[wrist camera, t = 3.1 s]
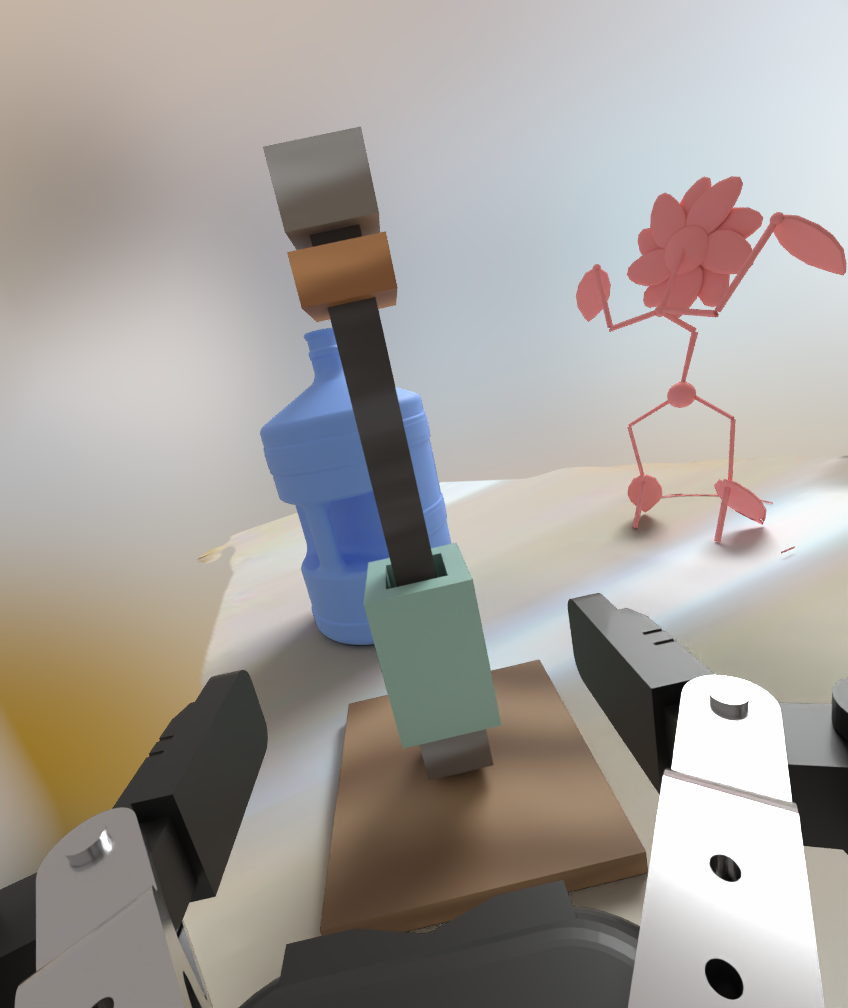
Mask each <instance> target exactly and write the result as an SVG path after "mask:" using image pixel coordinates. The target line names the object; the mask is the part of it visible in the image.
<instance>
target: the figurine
mask: <svg viewBox="0 0 848 1008" xmlns="http://www.w3.org/2000/svg"><path fill="white" fill-rule="evenodd" d="M742 185H743V183H742V180H741V178H740V177H729V178H727V179H724V180H722V181H719V182H718V183H716V184H715V185H714V186H712V187H711V181H710V178H708V177H703V178H701V179H699V180H698V181H697V182H696V183H695V184H694V185H693V186H692V187H691V188H690V189H689V190H688V191H687V192H686V194H685V195H684V197H683V199H682V201H681V203H680V204H679V203H678V201H677V200H676V199H675V198H674V197H672V196H671V195H669V194H667V193H663V194H661V195H659V196H658V198H657V199H656V201H655V203H654V206H653V210H652V213H651V224H650V225H651V226H650V228H647V229H643V230H642V231H641V232H640V234H639V236H638V244H639V249H640V252H641V254H642V255H643V256H641V257H640V258H639V259H637V260H636V261H635V262H634V263H632V265H631V266H630V267H629V268H628V273H627V275H628V277H629V279H630V280H631V281H633V282H634V283H636V284H639V285H644V286H649V287H648V288H647V290H646V291H645V292H644V299H643V301H644V304H645V306H647V307H649V308H651V307H656V306H658V307H656V309H655V310H654V311H652V312H649V313H646V314H643V315H641V316H638V317H635V318H632V319H629V320H626V321H624V322H621V323H618V324H616V325H613V324H612V320H611V316H610V312H609V308H608V303H607V300H608V298H609V296H610V286H611V285H610V281H609V278H608V274H607V273H606V272H605V271H603V270H602V269H601V267H600V265H598V264H596V265H594V267H593V269H592V270H590V271H589V272H587V273H585V275H584V277H583V279H582V280H581V282H580V283H579V285H578V290H577V294H576V298H577V305H578V308H579V310H580V311H581V313H582V315H583V316H584V318H585V319H586V320H587V321H588V322H589V321H590V320H592V319H593V318H594V317H595V316H596V315H597V314H598V313H599V312H600V311H601V310H602V309H603V310H604V314H605V318H606V322H607V326H608V327H609V328H610V329H609V331H610V332H611V331H613V330H616V329H619V328H622V327H625V326H628V325H630V324H633V323H636V322H639V321H642V320H644V319H647V318H650V317H652V316H655V315H656V316H658V317H661V316H664V317H666V318H668V319H669V320H671V321H673V322H674V323H676V324H678V325H680V326H681V327H683V328H685V329H686V330H688V331H690V332H692V333H691V338H690V342H689V347H688V351H687V356H686V361H685V366H684V371H683V376H682V380H681V382H679V383H677V384H675V385H673V386H672V387H671V388H670V389H669V392H668V394H667V395H668V396H667V397H668V400H667V401H666V402H664V403H662V404H661V405H659V406H658V407H656V408H654V409H653V410H651V411H649V412H648V413H646V414H645V415H643V416H641V417H640V418H638V419H637V420H635V421H633V422H632V423H630V424H629V427H628V431H629V434H630V438H631V441H632V445H633V449H634V452H635V456H636V460H637V463H638V467H639V471H640V474H641V475H640V476H638V477H636V478H634V479H633V480H632V482H631V484H630V485H629V487H628V496H629V498H630V500H631V502H632V503H633V504H635V505H636V506H637V508H636V513H635V518H634V523H633V528H638V524H639V519H640V513H641V510H642V511H644V512H647V511H648V510H650V509H651V508H652V507H653V506H654V505H655V504H656V503H658V502H659V500H660V498H661V497H672V496H719V497H720V498H721V499H722V503H721V508H720V513H719V518H718V524H717V529H716V534H715V539H714V541H720V542H721V536H722V531H723V526H724V521H725V515H726V510H727V505H728V506H730V507H731V508H732V509H734V510H735V511H736V512H738V513H740V514H742V515H744V516H746V517H748V518H750V519H751V520H754V521H756V522H758V523H760V524H763V523H764V521H765V518H766V509H765V507H764V505H763V503H762V502H761V501H763V500H760V499H759V498H758V497H757V496H756V495H755V494H753V493H752V492H751V491H750V490H748V489H746V488H745V487H743V486H741V485H740V484H738V483H737V482H733V481H732V474H733V455H734V436H735V419H734V417H733V416H731V415H730V414H728V413H726V412H724V411H722V410H721V409H719V408H717V407H716V406H714V405H712V404H710V403H709V402H707V401H705V400H703V399H701V398H700V397H698V396H696V390H695V388H694V387H693V385H691V384H689V383H687V382H685V380H686V376H687V372H688V369H689V365H690V361H691V357H692V353H693V350H694V346H695V342H696V338H697V335H698V333H697V332H695V330H696V328H695V327H693V326H691V325H689V324H687V323H686V322H684V321H682V320H680V319H678V318H679V317H680V316H682V315H695V316H707V317H718V312H721V310H722V309H723V307H724V305H725V304H726V303H727V301H728V300H729V298H730V297H731V295H732V293H733V292H734V291H735V289H736V287H737V286H738V284H739V283H740V281H741V280H742V278H743V277H744V275H745V274H746V272H747V271H748V269H749V268H750V267H751V266H752V265H753V262H754V260H755V258H756V257H757V255H758V254H759V252H760V251H761V249H762V248H763V246H764V245H765V243H766V242H767V240H768V239H769V237H770V236H771V234H772V232H774V234H775V236H776V237H777V239H778V241H779V243H780V244H781V245H782V246H783V247H784V248H785V249H786V250H787V251H788V252H789V253H790V254H791V255H793V256H795V257H796V258H798V259H799V260H801V261H803V262H805V263H806V264H808V265H811V266H814V267H817V268H820V269H823V270H826V271H829V272H832V273H836V274H840V275H844V274H845V272H846V260H845V254H844V249H843V248H842V246H841V245H840V244H839V242H838V241H837V240H836V238H835V237H834V236H833V235H832V234H831V233H830V232H828V231H827V230H825V229H824V228H823V227H821V226H820V225H818V224H816V223H814V222H811V221H809V220H807V219H805V218H802V217H800V216H796V215H783V213H780V212H777V213H775V214H773V215H772V216H771V218H770V224H769V226H768V227H767V229H766V230H765V232H764V234H763V235H762V237H761V238H760V240H759V241H758V243H757V244H756V246H755V248H754V249H753V251H752V248H751V245H750V244H749V243H748V242H747V241H746V240H745V239H746V238H747V237H749V236H750V235H751V234H753V233H754V232H755V231H756V230H757V229H758V228H759V227H760V226H761V224H762V220H763V217H762V216H761V214H760V213H759V212H757V211H755V210H753V209H751V208H733V206H734V205H735V203H736V201H737V199H738V196H739V195H740V192H741V189H742ZM730 274H737V276H736V277H735V279H734V280H733V282H732V283H731V285H730V286H729V276H730ZM697 296H698V297H699V298H700V299H701V301H702V302H703V304H704V305H706V306H710V307H715V306H717V307H716V308H715V310H698V309H689V307H690V306H691V305H692V304H693V302H694V301H695V300H696V298H697ZM717 311H718V312H717ZM694 399H695V400H697V401H699V402H701V403H703V404H704V405H706V406H708V407H710V408H712V409H713V410H715V411H717V412H719V413H721V414H722V415H724V416H726V417H728V418H730V419H731V430H730V451H729V471H728V480H726V479H724V480H723V481H722V480H720V479H719V480H718V482H717V483H716V484H715V485H714V486H715V489H716V491H717V494H718V495H699V494H696V495H682V494H671V495H672V496H662V488H661V485H660V484H659V482H658V481H657V480H656V478H654V477H652V476H649V475H646V476H644V472H643V469H642V465H641V461H640V458H639V454H638V450H637V447H636V443H635V439H634V436H633V432H632V428H631V426H632V425H634V424H636V423H637V422H639V421H641V420H642V419H644V418H646V417H647V416H649V415H651V414H652V413H654V412H655V411H657V410H659V409H660V408H662V407H664V406H665V405H667V404H669V403H670V404H671V405H672V406H674V407H678V408H682V407H686V406H688V405H690V404H691V403H692V402H693V401H694ZM763 502H767V503H772V504H773V502H768V501H763ZM760 519H762V520H763V522H762V521H761V520H760ZM793 548H795V546H794V547H792V548H789V549H787V550H785V551H782V552H781V553H783V552H786V551H788V550H791V549H793Z"/></svg>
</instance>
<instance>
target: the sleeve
mask: <svg viewBox="0 0 848 1008" xmlns="http://www.w3.org/2000/svg"><path fill="white" fill-rule="evenodd" d="M431 551H432V555H433V560H434V564H435V569H436V573H437V578H435V579H430V580H426V581H421V582H417V583H413V584H408V585H404V586H399V587H397V586H396V582H395V578H394V574H393V570H392V565H391V561H390V558H387V559H382V560H378V561H374V562H369V563H368V570H367V579H366V587H365V595H364V608H365V612H366V615H367V619H368V623H369V626H370V630H371V634H372V638H373V641H374V645H375V649H376V652H377V656H378V660H379V663H380V667H381V671H382V674H383V678H384V682H385V685H386V689H387V693H388V696H389V700H390V704H391V707H392V711H393V715H394V719H395V722H396V726H397V730H398V733H399V737H400V741H401V744H402V748H403V749H404V748H408V747H412V746H417V745H421V744H425V743H429V742H434V741H438V740H442V739H446V738H451V737H455V736H459V735H463V734H468V733H472V732H476V731H480V730H485V729H489V728H493V727H497V726H502V725H501V720H500V715H499V710H498V705H497V700H496V695H495V690H494V685H493V680H492V675H491V670H490V665H489V660H488V655H487V650H486V644H485V639H484V634H483V629H482V624H481V619H480V614H479V609H478V604H477V599H476V594H475V589H474V584H473V579H472V577H471V575H470V572H469V570H468V568H467V566H466V563H465V561H464V559H463V556H462V554H461V552H460V550H459V547H458V545H457V543H453V544H449V545H444V546H440V547H435V548H431Z"/></svg>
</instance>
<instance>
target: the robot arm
mask: <svg viewBox="0 0 848 1008" xmlns="http://www.w3.org/2000/svg"><path fill="white" fill-rule="evenodd" d="M568 614H569V621H570V629H571V636H572V644H573V652H574V658H575V662H576V665H577V668H578V671H579V674H580V676H581V678H582V680H583V682H584V683H585V685H586V686H587V688H588V689H589V691H590V692H591V694H592V695H593V697H594V698H595V700H596V701H597V702H598V704H599V705H600V707H601V708H602V710H603V711H604V713H605V714H606V716H607V717H608V719H609V720H610V722H611V723H612V725H613V726H614V728H615V729H616V731H617V732H618V734H619V735H620V737H621V738H622V740H623V741H624V743H625V744H626V745H627V747H628V748H629V750H630V751H631V753H632V754H633V756H634V757H635V759H636V760H637V762H638V763H639V765H640V766H641V768H642V769H643V771H644V772H645V774H646V775H647V777H648V778H649V780H650V781H651V783H652V784H653V786H654V787H655V789H656V790H657V791H658V793H659V794H660V800H659V807H658V813H657V820H656V826H655V833H654V839H653V846H652V852H651V859H650V866H649V872H648V879H647V885H646V892H645V898H644V905H643V912H642V918H641V925H640V926H638V925H636V924H634V923H632V922H630V921H628V920H626V919H624V918H622V917H619V916H616V915H613V914H610V913H607V912H604V911H600V910H596V909H591V908H586V907H576V906H572V903H571V900H570V897H569V895H568V892H567V889H566V886H565V883H564V881H563V880H560V881H555V882H551V883H547V884H543V885H538V886H534V887H530V888H525V889H521V890H517V891H513V892H508V893H504V894H500V895H496V896H494V897H492V898H490V899H489V900H487V901H485V902H483V903H482V904H480V905H478V906H476V907H474V908H473V909H471V910H469V911H467V912H466V913H464V914H462V915H460V916H458V917H457V918H455V919H453V920H451V921H450V922H448V923H446V924H444V925H442V926H441V927H439V928H437V929H435V930H433V931H431V932H428V933H408V932H396V931H383V930H371V929H358V928H354V929H350V930H346V931H341V932H337V933H333V934H328V935H324V936H320V937H316V938H311V939H307V940H303V941H298V942H294V943H290V944H286V950H285V955H284V960H283V965H282V971H281V976H280V977H279V978H277V979H275V980H273V981H272V982H271V983H269V984H268V985H266V986H265V987H263V988H262V989H261V990H259V991H258V992H256V993H255V994H254V995H253V996H252V997H250V998H249V999H248V1000H247V1001H246V1002H245V1003H243V1004H242V1005H241V1006H240V1007H239V1008H825V1005H824V998H823V990H822V983H821V976H820V968H819V961H818V954H817V946H816V939H815V932H814V924H813V917H812V910H811V902H810V895H809V887H808V880H807V873H806V865H805V858H804V851H803V846H811V847H821V848H832V849H842V850H844V851H845V852H846V853H847V855H848V677H847V678H844V679H841V680H839V681H838V682H837V683H835V685H834V686H833V689H832V704H819V703H781V702H777V701H776V700H775V699H774V698H773V697H772V696H771V695H770V694H769V693H768V692H767V691H765V690H764V689H762V688H761V687H759V686H757V685H755V684H753V683H750V682H748V681H745V680H742V679H739V678H735V677H730V676H722V675H715V674H714V673H712V672H711V671H710V670H709V669H708V668H707V667H705V666H704V665H703V664H702V663H701V662H700V661H698V660H697V659H696V658H695V657H694V656H693V655H691V654H690V653H689V652H688V651H687V650H686V649H685V648H683V647H682V646H681V645H680V644H679V643H678V642H676V641H675V642H674V640H673V638H672V637H671V636H669V635H668V634H667V633H666V632H665V631H662V630H661V628H660V627H659V626H658V625H657V624H656V623H654V622H653V621H652V620H651V619H650V618H649V617H647V616H645V615H643V614H640V613H638V612H636V611H633V610H631V609H628V608H624V609H620V610H618V609H617V608H616V607H614V606H613V605H612V604H611V603H610V602H609V601H608V600H607V599H606V598H605V597H604V596H603V595H602V594H600V593H596V594H592V595H587V596H582V597H578V598H573V599H570V600H569V601H568ZM159 739H160V741H159V742H157V743H156V744H155V746H154V747H153V749H152V750H151V752H150V753H149V757H148V758H146V759H145V761H144V762H143V764H142V765H141V767H140V768H139V770H138V771H137V773H136V774H135V776H134V777H133V779H132V780H131V781H130V783H129V785H128V786H127V788H126V789H125V790H124V792H123V793H122V795H121V796H120V798H119V799H118V801H117V802H116V804H115V805H114V807H113V808H112V809H111V810H107V811H104V812H102V813H100V814H97V815H95V816H93V817H91V818H90V819H88V820H86V821H85V822H83V823H82V824H80V825H79V826H77V827H76V828H74V829H73V830H72V831H70V832H69V833H68V834H67V835H66V836H65V837H63V838H62V839H61V840H60V841H59V842H58V843H57V844H56V845H55V846H54V847H53V848H52V850H51V851H50V852H49V853H48V855H47V856H46V857H45V859H44V860H43V862H42V864H41V865H40V867H39V870H38V872H37V873H35V874H33V875H31V876H29V877H26V878H24V879H23V880H20V881H18V882H16V883H14V884H12V885H9V886H7V887H5V888H3V889H1V890H0V1008H213V1006H212V1003H211V1000H210V997H209V994H208V991H207V988H206V985H205V982H204V979H203V976H202V973H201V970H200V967H199V964H198V960H197V957H196V954H195V951H194V948H193V945H192V942H191V939H190V936H189V933H188V930H187V928H186V926H185V924H184V921H183V917H184V915H185V912H186V910H187V907H188V904H189V902H194V901H198V900H202V899H207V898H211V897H215V896H216V894H217V891H218V888H219V885H220V882H221V879H222V876H223V873H224V871H225V868H226V865H227V862H228V859H229V856H230V853H231V850H232V848H233V845H234V842H235V839H236V836H237V833H238V830H239V827H240V825H241V822H242V819H243V816H244V813H245V810H246V807H247V804H248V801H249V799H250V796H251V793H252V790H253V787H254V784H255V781H256V778H257V776H258V773H259V770H260V767H261V764H262V761H263V758H264V755H265V753H266V749H267V740H268V736H267V726H266V722H265V719H264V716H263V713H262V710H261V707H260V704H259V701H258V698H257V695H256V692H255V690H254V687H253V684H252V681H251V678H250V676H249V674H248V672H247V671H245V670H240V671H236V672H231V673H227V674H222V675H217V676H213V677H211V678H210V679H209V681H208V682H207V684H206V685H205V687H204V688H203V690H202V692H201V693H200V695H199V696H198V698H197V700H196V701H195V702H193V703H190V704H189V705H188V706H187V707H186V708H185V709H184V710H182V711H181V712H180V713H179V714H178V715H177V716H176V717H175V718H173V719H172V721H171V722H170V723H169V725H168V726H167V728H166V729H165V731H164V732H163V734H162V735H161V737H160V738H159Z"/></svg>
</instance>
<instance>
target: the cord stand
mask: <svg viewBox="0 0 848 1008" xmlns="http://www.w3.org/2000/svg"><path fill="white" fill-rule="evenodd" d="M263 149H264V153H265V157H266V161H267V165H268V168H269V172H270V176H271V180H272V184H273V188H274V191H275V195H276V199H277V203H278V207H279V211H280V215H281V218H282V222H283V226H284V230H285V233H286V234H287V236H288V237H289V239H290V240H291V242H292V243H293V245H294V246H295V248H296V249H297V250H296V251H292V252H288V257H289V261H290V265H291V269H292V272H293V276H294V280H295V284H296V288H297V292H298V295H299V299H300V302H301V307H302V309H303V310H304V311H305V312H306V313H308V314H309V315H310V316H311V317H312V318H313V319H314V320H315V321H316V322H319V321H324V320H329V319H331V323H332V327H333V331H334V335H335V339H336V343H337V347H338V352H339V356H340V360H341V364H342V368H343V372H344V376H345V380H346V384H347V388H348V392H349V396H350V400H351V404H352V408H353V412H354V416H355V420H356V424H357V428H358V432H359V436H360V440H361V444H362V448H363V452H364V456H365V461H366V465H367V469H368V473H369V477H370V481H371V485H372V489H373V493H374V497H375V501H376V505H377V509H378V513H379V517H380V521H381V525H382V529H383V533H384V537H385V541H386V545H387V549H388V553H389V557H390V561H391V565H392V570H393V574H394V578H395V582H396V586H397V587H399V586H404V585H408V584H413V583H417V582H421V581H426V580H430V579H435V578H437V573H436V569H435V564H434V560H433V555H432V551H431V546H430V542H429V537H428V533H427V528H426V524H425V519H424V515H423V510H422V506H421V501H420V496H419V492H418V487H417V483H416V478H415V474H414V469H413V465H412V460H411V456H410V451H409V447H408V442H407V438H406V433H405V429H404V424H403V420H402V415H401V410H400V406H399V401H398V397H397V392H396V388H395V383H394V379H393V374H392V370H391V366H390V361H389V356H388V352H387V347H386V343H385V338H384V333H383V329H382V324H381V320H380V316H379V311H378V309H380V308H385V307H389V306H394V305H396V297H397V284H396V279H395V274H394V270H393V264H392V260H391V255H390V250H389V245H388V240H387V236H386V232H381V233H380V226H379V211H378V206H377V202H376V197H375V192H374V188H373V183H372V178H371V173H370V168H369V163H368V159H367V154H366V149H365V145H364V139H363V135H362V130H361V127H356V128H352V129H347V130H342V131H337V132H332V133H327V134H323V135H318V136H313V137H308V138H303V139H299V140H294V141H289V142H284V143H279V144H274V145H270V146H265V147H263ZM491 675H492V680H493V685H494V690H495V695H496V700H497V705H498V710H499V715H500V720H501V725H502V726H497V727H493V728H489V729H485V730H480V731H476V732H472V733H468V734H463V735H459V736H455V737H451V738H446V739H442V740H438V741H434V742H429V743H425V744H421V745H417V746H412V747H408V748H404V749H403V748H402V744H401V741H400V737H399V733H398V730H397V726H396V722H395V719H394V715H393V711H392V707H391V704H390V700H389V696H388V695H385V696H381V697H377V698H372V699H368V700H364V701H359V702H355V703H351V704H349V707H348V715H347V723H346V731H345V738H344V746H343V754H342V762H341V770H340V778H339V786H338V794H337V801H336V809H335V817H334V825H333V833H332V841H331V849H330V856H329V864H328V872H327V880H326V888H325V896H324V904H323V912H322V919H321V927H320V932H321V934H322V936H324V935H328V934H333V933H337V932H341V931H346V930H350V929H354V928H358V929H371V930H383V931H396V932H406V931H410V930H415V929H419V928H423V927H427V926H431V925H435V924H439V923H443V922H447V921H451V920H453V919H455V918H457V917H458V916H460V915H462V914H464V913H466V912H467V911H469V910H471V909H473V908H474V907H476V906H478V905H480V904H482V903H483V902H485V901H487V900H489V899H490V898H492V897H494V896H496V895H500V894H504V893H508V892H513V891H517V890H521V889H525V888H530V887H534V886H538V885H543V884H547V883H551V882H555V881H560V880H563V881H564V883H565V886H566V889H567V892H571V891H575V890H579V889H583V888H587V887H591V886H595V885H599V884H604V883H608V882H612V881H616V880H620V879H624V878H628V877H632V876H636V875H640V874H645V873H648V867H647V857H646V851H645V849H644V847H643V846H642V844H641V842H640V840H639V838H638V837H637V835H636V833H635V831H634V829H633V828H632V826H631V824H630V822H629V820H628V819H627V817H626V815H625V813H624V811H623V810H622V808H621V806H620V804H619V802H618V801H617V799H616V797H615V795H614V793H613V792H612V790H611V788H610V786H609V784H608V782H607V781H606V779H605V777H604V775H603V773H602V772H601V770H600V768H599V766H598V764H597V763H596V761H595V759H594V757H593V755H592V754H591V752H590V750H589V748H588V746H587V745H586V743H585V741H584V739H583V737H582V736H581V734H580V732H579V730H578V728H577V727H576V725H575V723H574V721H573V719H572V718H571V716H570V714H569V712H568V710H567V709H566V707H565V705H564V703H563V701H562V700H561V698H560V696H559V694H558V692H557V691H556V689H555V687H554V685H553V683H552V682H551V680H550V678H549V676H548V674H547V673H546V671H545V669H544V667H543V665H542V664H541V662H540V660H536V661H531V662H527V663H523V664H518V665H514V666H510V667H506V668H501V669H497V670H493V671H491Z"/></svg>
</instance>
